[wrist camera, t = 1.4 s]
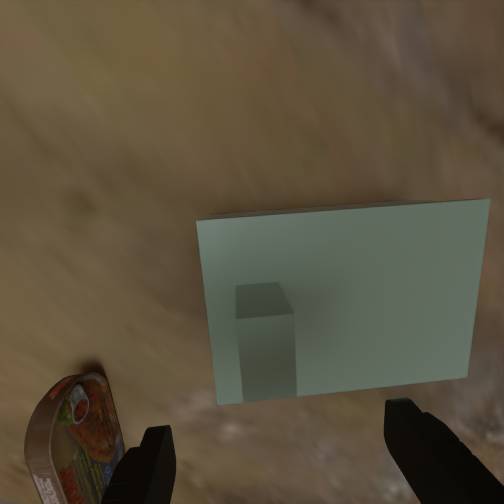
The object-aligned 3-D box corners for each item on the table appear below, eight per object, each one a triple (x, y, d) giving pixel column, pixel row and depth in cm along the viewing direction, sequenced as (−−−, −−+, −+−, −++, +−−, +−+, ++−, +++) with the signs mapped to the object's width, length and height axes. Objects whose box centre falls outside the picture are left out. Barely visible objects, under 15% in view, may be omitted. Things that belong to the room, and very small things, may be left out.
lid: (459, 198, 20) (589, 199, 13) (442, 358, 23) (538, 433, 16) (200, 217, 19) (179, 230, 12) (219, 382, 22) (212, 474, 15)
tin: (129, 461, 31) (91, 556, 23) (103, 465, 31) (55, 562, 23) (102, 354, 28) (46, 420, 20) (73, 358, 28) (5, 425, 19)
